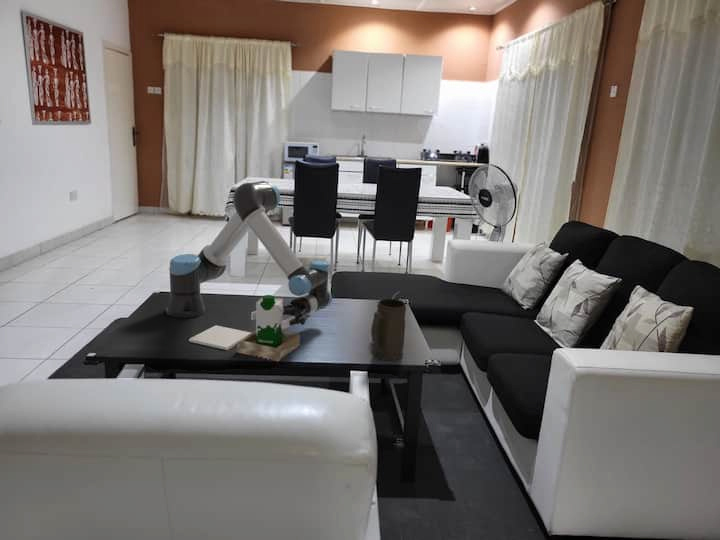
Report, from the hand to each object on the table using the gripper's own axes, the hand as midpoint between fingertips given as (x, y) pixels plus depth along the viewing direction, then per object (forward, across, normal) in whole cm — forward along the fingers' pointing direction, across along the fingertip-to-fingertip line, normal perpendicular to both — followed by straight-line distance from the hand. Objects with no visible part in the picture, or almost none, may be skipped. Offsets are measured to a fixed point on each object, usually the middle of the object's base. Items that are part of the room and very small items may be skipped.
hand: (266, 320), depth 182 cm
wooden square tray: (-2, 0, -11) cm, 11 cm away
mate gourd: (-53, -20, -11) cm, 58 cm away
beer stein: (-21, -36, -11) cm, 43 cm away
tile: (+2, +20, -11) cm, 23 cm away
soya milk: (-2, 0, -11) cm, 11 cm away
